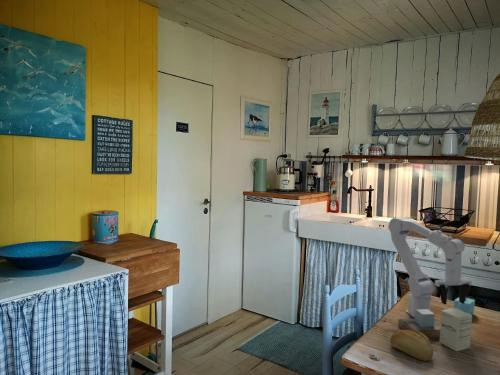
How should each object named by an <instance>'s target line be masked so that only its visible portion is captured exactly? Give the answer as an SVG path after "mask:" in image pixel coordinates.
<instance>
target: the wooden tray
mask: <svg viewBox="0 0 500 375" xmlns="http://www.w3.org/2000/svg"><path fill="white" fill-rule="evenodd" d="M397 324H398V325H397V326H398V327H399V328H401V330H403V329H406V328H410V329H414V330H417V331H419V332H421V333H423V334H424V335H425V336H427V338H428V339H440V329H441V321H438V320H437V319H435V318H434V326H432V327H421V326H420V325H419V324H417V323H416V322H415V318H414V317H411V318H399V319H398V323H397Z"/></svg>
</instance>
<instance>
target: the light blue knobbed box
mask: <svg viewBox="0 0 500 375" xmlns="http://www.w3.org/2000/svg"><path fill="white" fill-rule="evenodd" d="M475 302H476V301H475V299H472V298H469V297H466V299H465V302H464V304H463V303H461V302H459V296H458V297H457V298H455V299H454V301H453V308H456V309H459V310H461V311H463V312H466V313H468V314H471V315H473V314H474V312H475Z"/></svg>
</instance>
